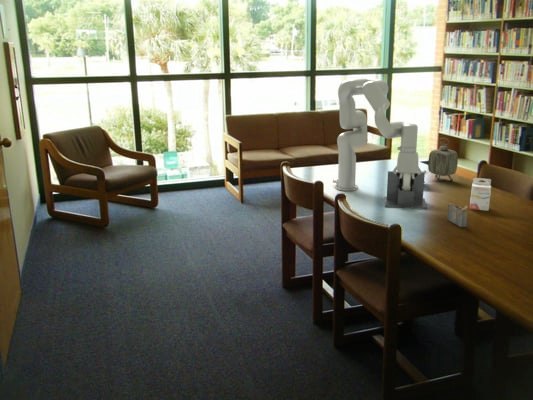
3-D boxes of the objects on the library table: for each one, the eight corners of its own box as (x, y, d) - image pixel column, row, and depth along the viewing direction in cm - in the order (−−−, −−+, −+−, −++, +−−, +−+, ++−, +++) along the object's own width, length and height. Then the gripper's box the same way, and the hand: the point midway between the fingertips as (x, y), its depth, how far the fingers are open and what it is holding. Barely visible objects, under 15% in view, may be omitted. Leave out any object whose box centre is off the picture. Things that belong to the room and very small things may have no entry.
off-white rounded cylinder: (400, 192, 266) (401, 168, 263) (404, 190, 269) (405, 167, 266) (407, 193, 264) (409, 169, 260) (411, 191, 267) (412, 168, 263)
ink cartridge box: (469, 209, 259) (472, 179, 255) (469, 206, 264) (472, 177, 260) (488, 210, 257) (492, 181, 252) (488, 208, 261) (491, 178, 257)
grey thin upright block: (467, 227, 236) (469, 206, 233) (460, 228, 235) (462, 206, 232) (453, 219, 246) (454, 199, 244) (447, 220, 246) (448, 199, 243)
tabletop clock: (456, 181, 310) (459, 138, 303) (445, 183, 306) (449, 140, 298) (435, 176, 322) (438, 135, 315) (425, 179, 317) (428, 137, 310)
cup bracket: (384, 198, 279) (385, 170, 275) (424, 200, 275) (426, 171, 271) (384, 207, 265) (386, 177, 261) (426, 208, 261) (428, 179, 257)
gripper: (390, 150, 259) (389, 187, 264) (426, 151, 255) (424, 188, 261) (390, 147, 266) (388, 183, 271) (425, 148, 262) (423, 184, 268)
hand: (406, 185), depth 266 cm, fingers closed on off-white rounded cylinder, 4 cm apart
